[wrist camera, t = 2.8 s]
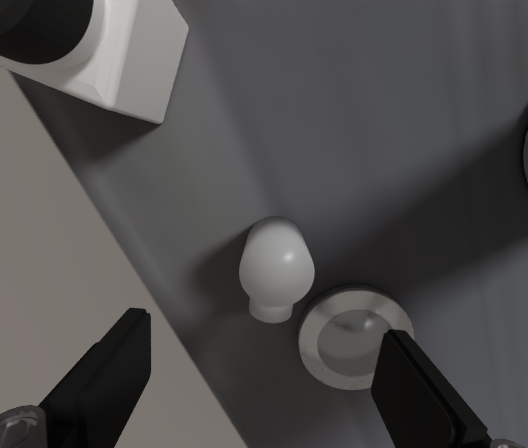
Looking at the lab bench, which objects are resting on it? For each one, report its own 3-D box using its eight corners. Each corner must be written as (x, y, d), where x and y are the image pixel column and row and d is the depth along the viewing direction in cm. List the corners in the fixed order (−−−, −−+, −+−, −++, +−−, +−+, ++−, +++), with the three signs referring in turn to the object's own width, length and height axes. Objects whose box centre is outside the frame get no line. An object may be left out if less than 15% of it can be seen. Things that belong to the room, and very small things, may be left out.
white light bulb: (249, 213, 22) (241, 233, 16) (306, 218, 22) (319, 241, 16) (243, 281, 23) (234, 323, 18) (296, 287, 23) (305, 330, 18)
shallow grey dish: (304, 278, 23) (307, 287, 22) (417, 289, 23) (427, 299, 22) (291, 371, 26) (292, 385, 24) (392, 381, 26) (400, 395, 24)
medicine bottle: (191, 26, 19) (61, -190, 7) (163, 126, 20) (21, 86, 9) (92, -17, 18) (-227, -329, 6) (72, 89, 20) (-208, -6, 8)
